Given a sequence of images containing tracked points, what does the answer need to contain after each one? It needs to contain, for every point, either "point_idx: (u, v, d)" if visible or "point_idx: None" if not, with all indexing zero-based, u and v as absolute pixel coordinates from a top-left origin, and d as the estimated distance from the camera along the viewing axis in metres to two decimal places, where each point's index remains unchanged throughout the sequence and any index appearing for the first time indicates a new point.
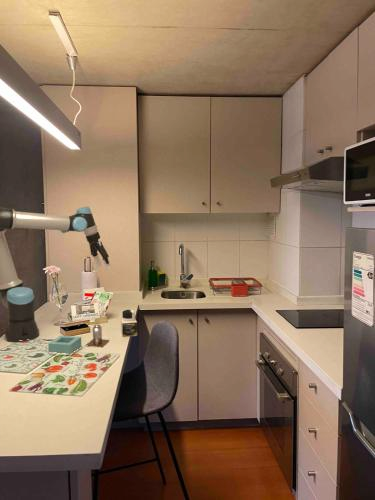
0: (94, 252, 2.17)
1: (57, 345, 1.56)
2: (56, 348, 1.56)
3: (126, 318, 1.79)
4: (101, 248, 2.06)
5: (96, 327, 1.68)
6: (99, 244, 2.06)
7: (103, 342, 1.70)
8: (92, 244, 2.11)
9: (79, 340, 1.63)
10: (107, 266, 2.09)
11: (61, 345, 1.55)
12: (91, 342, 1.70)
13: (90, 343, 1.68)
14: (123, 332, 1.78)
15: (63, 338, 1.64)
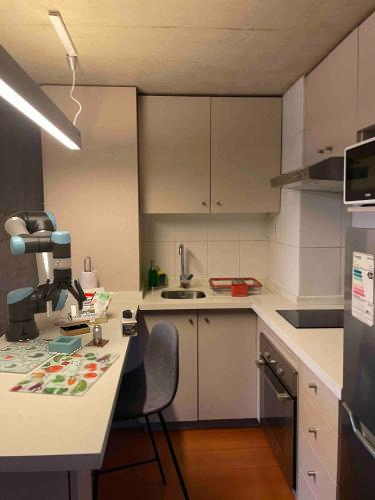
0: None
1: (57, 345, 1.56)
2: (56, 348, 1.56)
3: (126, 318, 1.79)
4: None
5: (96, 327, 1.68)
6: None
7: (103, 342, 1.70)
8: None
9: (79, 340, 1.63)
10: None
11: (61, 345, 1.55)
12: (91, 342, 1.70)
13: (90, 343, 1.68)
14: (123, 332, 1.78)
15: (63, 338, 1.64)
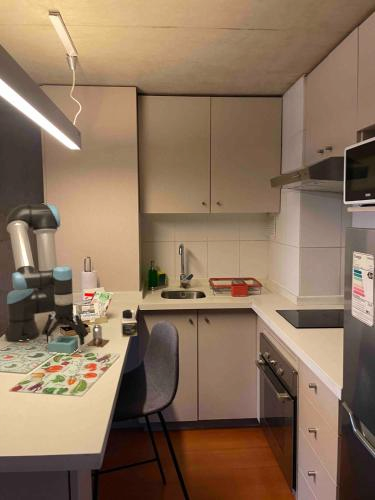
0: None
1: (57, 345, 1.56)
2: (56, 348, 1.56)
3: (126, 318, 1.79)
4: None
5: (96, 327, 1.68)
6: None
7: (103, 342, 1.70)
8: None
9: None
10: None
11: (61, 345, 1.55)
12: (91, 342, 1.70)
13: (90, 343, 1.68)
14: (123, 332, 1.78)
15: (63, 338, 1.64)
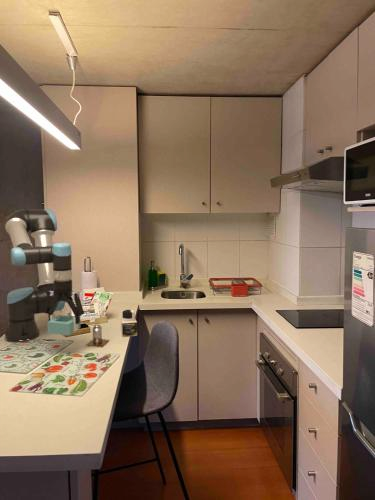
0: None
1: (56, 324, 1.55)
2: (55, 327, 1.55)
3: (126, 318, 1.79)
4: None
5: (96, 327, 1.68)
6: None
7: (103, 342, 1.70)
8: None
9: None
10: None
11: (60, 324, 1.55)
12: (91, 342, 1.70)
13: (90, 343, 1.68)
14: (123, 332, 1.78)
15: (62, 317, 1.63)
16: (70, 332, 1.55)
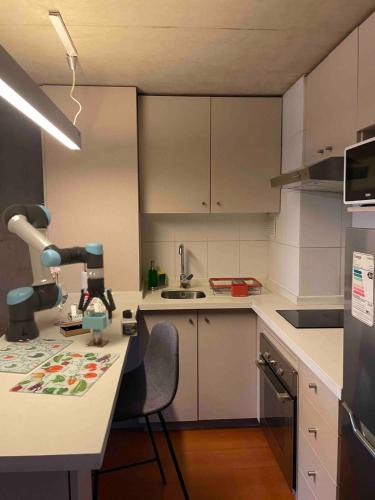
0: None
1: (90, 319, 1.64)
2: (89, 322, 1.64)
3: (126, 318, 1.79)
4: None
5: None
6: None
7: (103, 342, 1.70)
8: None
9: None
10: None
11: (94, 319, 1.63)
12: (91, 342, 1.70)
13: (90, 343, 1.68)
14: (123, 332, 1.78)
15: (94, 314, 1.72)
16: (104, 326, 1.64)
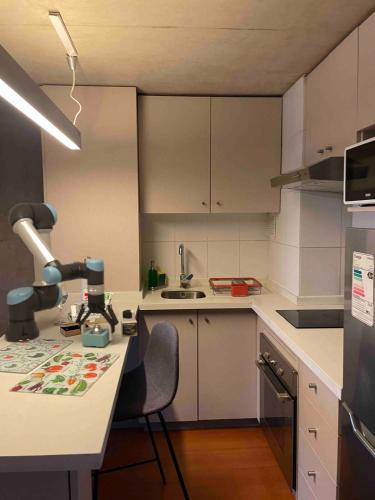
0: None
1: (90, 336, 1.65)
2: (89, 339, 1.65)
3: (126, 318, 1.79)
4: None
5: (96, 327, 1.68)
6: None
7: None
8: None
9: None
10: None
11: (94, 336, 1.64)
12: None
13: None
14: (123, 332, 1.78)
15: None
16: (104, 344, 1.65)
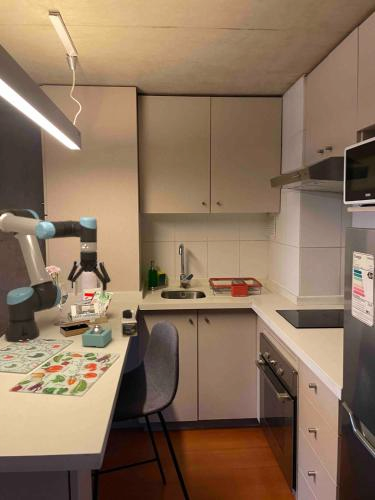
0: None
1: (90, 336, 1.65)
2: (89, 339, 1.65)
3: (126, 318, 1.79)
4: None
5: (96, 327, 1.68)
6: None
7: None
8: None
9: (110, 332, 1.72)
10: None
11: (94, 336, 1.64)
12: None
13: None
14: (123, 332, 1.78)
15: None
16: (104, 344, 1.65)
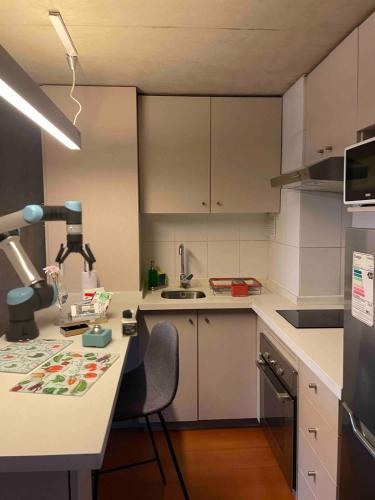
0: None
1: (90, 336, 1.65)
2: (89, 339, 1.65)
3: (126, 318, 1.79)
4: None
5: (96, 327, 1.68)
6: None
7: None
8: None
9: (110, 332, 1.72)
10: None
11: (94, 336, 1.64)
12: None
13: None
14: (123, 332, 1.78)
15: None
16: (104, 344, 1.65)
